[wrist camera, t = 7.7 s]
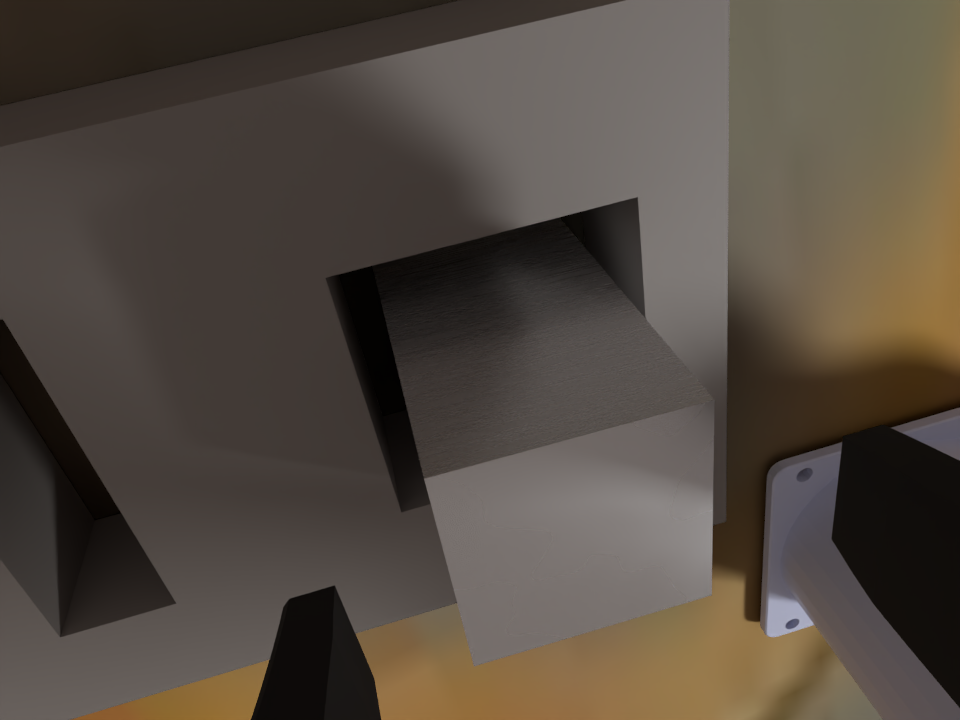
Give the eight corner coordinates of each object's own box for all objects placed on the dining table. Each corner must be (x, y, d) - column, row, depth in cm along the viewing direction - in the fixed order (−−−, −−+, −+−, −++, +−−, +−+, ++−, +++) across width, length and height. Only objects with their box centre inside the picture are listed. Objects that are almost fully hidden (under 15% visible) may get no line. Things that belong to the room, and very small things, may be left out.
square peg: (543, 198, 17) (714, 399, 10) (561, 348, 19) (711, 595, 12) (365, 240, 16) (423, 479, 10) (405, 389, 19) (474, 665, 12)
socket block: (640, -42, 15) (729, -24, 12) (665, 434, 21) (726, 521, 18) (-348, 186, 13) (-528, 270, 10) (9, 624, 20) (-38, 752, 17)
